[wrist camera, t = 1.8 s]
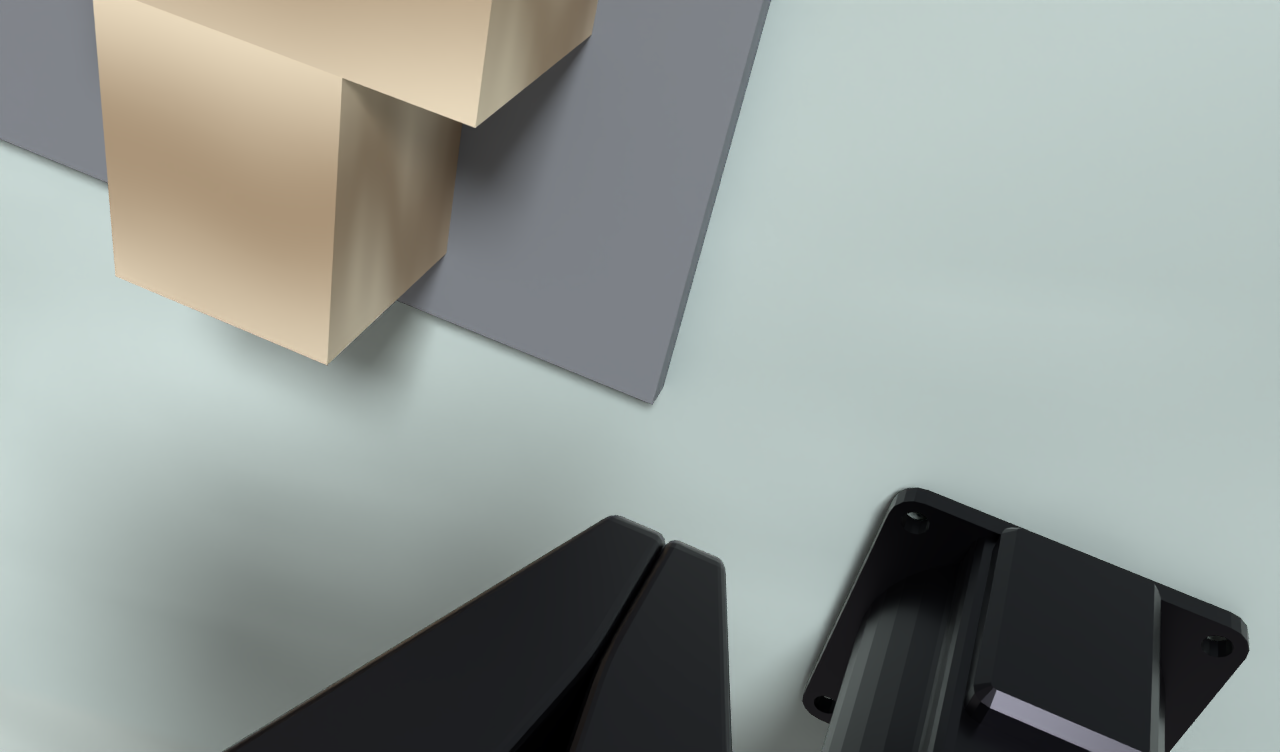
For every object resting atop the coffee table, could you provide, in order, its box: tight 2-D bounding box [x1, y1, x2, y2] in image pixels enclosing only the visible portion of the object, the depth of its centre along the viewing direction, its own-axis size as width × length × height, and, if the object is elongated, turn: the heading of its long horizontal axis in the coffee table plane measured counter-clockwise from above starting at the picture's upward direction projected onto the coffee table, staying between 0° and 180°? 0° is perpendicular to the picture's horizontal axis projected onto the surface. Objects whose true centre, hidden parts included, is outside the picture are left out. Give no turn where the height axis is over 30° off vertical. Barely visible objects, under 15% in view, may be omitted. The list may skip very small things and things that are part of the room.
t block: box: [93, 0, 598, 365], centre depth 18 cm, size 9×8×4 cm
